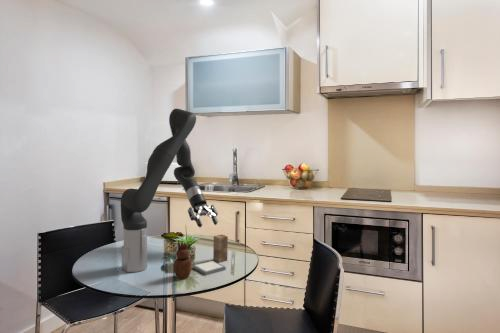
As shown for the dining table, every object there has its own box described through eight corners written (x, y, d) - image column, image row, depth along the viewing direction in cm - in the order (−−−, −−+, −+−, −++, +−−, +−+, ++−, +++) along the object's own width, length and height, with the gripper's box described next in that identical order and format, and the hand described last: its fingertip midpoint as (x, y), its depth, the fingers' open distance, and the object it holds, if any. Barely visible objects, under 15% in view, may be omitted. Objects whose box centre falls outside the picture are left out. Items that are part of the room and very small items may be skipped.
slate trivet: (205, 275, 138) (205, 272, 138) (192, 268, 146) (192, 265, 146) (225, 269, 145) (225, 266, 145) (212, 263, 152) (212, 260, 152)
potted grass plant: (174, 280, 132) (174, 242, 131) (173, 274, 138) (173, 238, 137) (192, 279, 134) (192, 241, 133) (190, 273, 140) (190, 237, 139)
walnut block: (219, 262, 153) (219, 238, 152) (213, 259, 157) (213, 236, 156) (227, 260, 156) (227, 236, 155) (221, 257, 159) (221, 234, 159)
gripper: (186, 194, 164) (198, 222, 156) (211, 191, 173) (224, 218, 165) (180, 203, 168) (192, 231, 160) (205, 200, 177) (217, 227, 170)
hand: (208, 225), depth 163 cm, fingers open, 8 cm apart
